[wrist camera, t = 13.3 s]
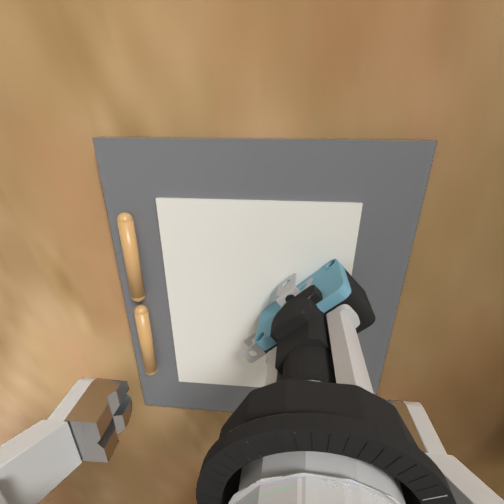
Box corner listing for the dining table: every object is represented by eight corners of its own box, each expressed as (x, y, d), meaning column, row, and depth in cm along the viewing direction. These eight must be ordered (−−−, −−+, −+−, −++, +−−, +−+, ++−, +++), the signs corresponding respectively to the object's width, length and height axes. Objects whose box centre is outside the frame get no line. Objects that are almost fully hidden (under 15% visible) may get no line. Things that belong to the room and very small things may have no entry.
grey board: (429, 140, 12) (446, 142, 11) (366, 412, 19) (373, 433, 17) (101, 136, 13) (82, 138, 12) (149, 395, 20) (140, 414, 18)
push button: (281, 369, 16) (260, 672, 7) (213, 304, 15) (89, 559, 6) (388, 305, 14) (557, 637, 5) (316, 222, 13) (356, 444, 4)
